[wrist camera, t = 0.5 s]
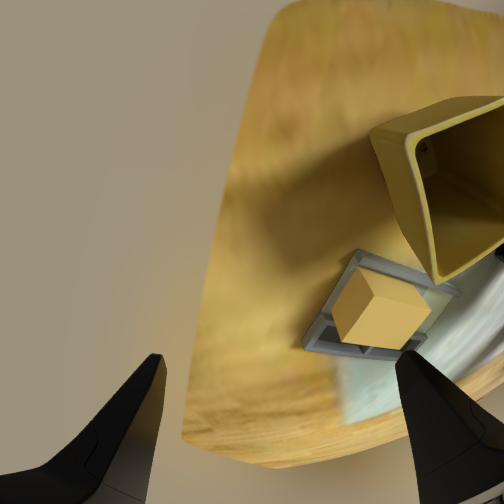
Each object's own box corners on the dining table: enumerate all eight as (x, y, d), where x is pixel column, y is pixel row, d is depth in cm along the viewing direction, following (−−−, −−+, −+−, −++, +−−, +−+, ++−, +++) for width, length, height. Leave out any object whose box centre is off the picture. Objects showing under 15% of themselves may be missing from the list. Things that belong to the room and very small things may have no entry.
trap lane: (455, 285, 24) (461, 293, 23) (402, 353, 29) (406, 361, 28) (356, 248, 21) (362, 257, 20) (301, 339, 27) (303, 350, 25)
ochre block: (412, 283, 23) (431, 310, 19) (385, 321, 25) (399, 349, 22) (357, 265, 22) (374, 295, 18) (330, 309, 24) (341, 341, 20)
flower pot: (376, 223, 20) (434, 291, 13) (336, 122, 17) (403, 139, 9) (454, 182, 18) (524, 227, 10) (427, 87, 14) (512, 94, 7)
